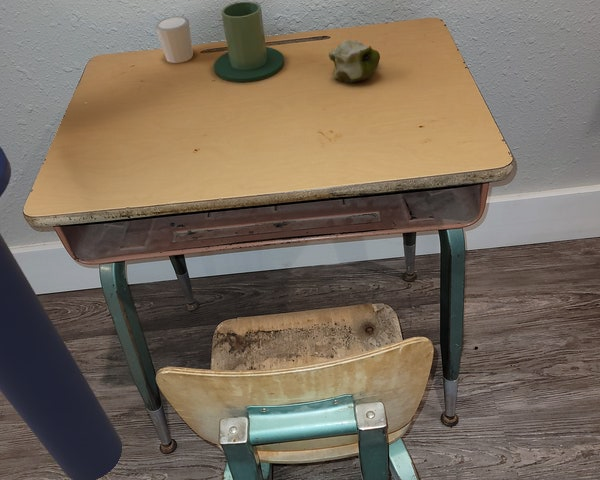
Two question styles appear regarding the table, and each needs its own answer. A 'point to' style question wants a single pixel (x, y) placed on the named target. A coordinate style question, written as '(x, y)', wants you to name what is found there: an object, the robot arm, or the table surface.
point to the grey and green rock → (354, 61)
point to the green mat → (265, 71)
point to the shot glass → (175, 38)
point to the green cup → (244, 35)
